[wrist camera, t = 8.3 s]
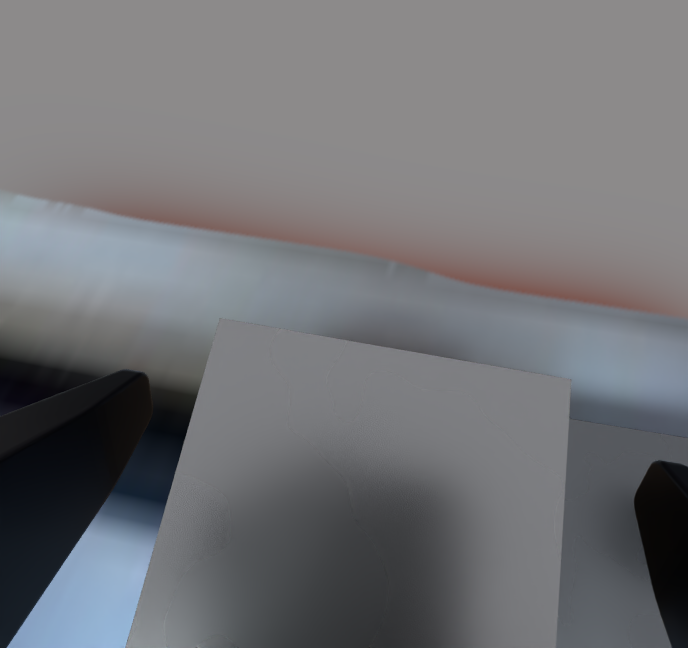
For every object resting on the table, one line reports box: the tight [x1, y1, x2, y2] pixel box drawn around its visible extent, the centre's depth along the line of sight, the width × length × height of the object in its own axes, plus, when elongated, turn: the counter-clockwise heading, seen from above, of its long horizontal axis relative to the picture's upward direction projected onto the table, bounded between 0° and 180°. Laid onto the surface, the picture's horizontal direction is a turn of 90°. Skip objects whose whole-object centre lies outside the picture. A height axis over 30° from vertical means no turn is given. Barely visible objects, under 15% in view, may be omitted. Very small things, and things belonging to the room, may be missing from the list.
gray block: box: [125, 318, 571, 648], centre depth 10 cm, size 4×4×12 cm
